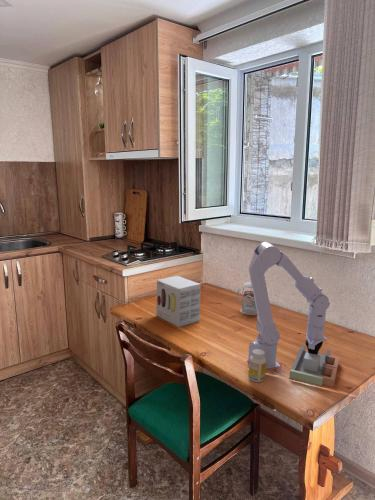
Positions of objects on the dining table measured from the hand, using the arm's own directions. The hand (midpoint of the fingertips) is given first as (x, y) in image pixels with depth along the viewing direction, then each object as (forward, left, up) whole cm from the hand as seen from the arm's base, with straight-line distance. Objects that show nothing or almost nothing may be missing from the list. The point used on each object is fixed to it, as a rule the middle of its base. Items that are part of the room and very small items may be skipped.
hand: (312, 359), depth 136 cm
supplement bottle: (-25, -3, -2) cm, 25 cm away
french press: (+2, +55, -2) cm, 55 cm away
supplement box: (-35, +55, -2) cm, 65 cm away
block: (-3, -3, -1) cm, 4 cm away
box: (-1, -3, -2) cm, 4 cm away
